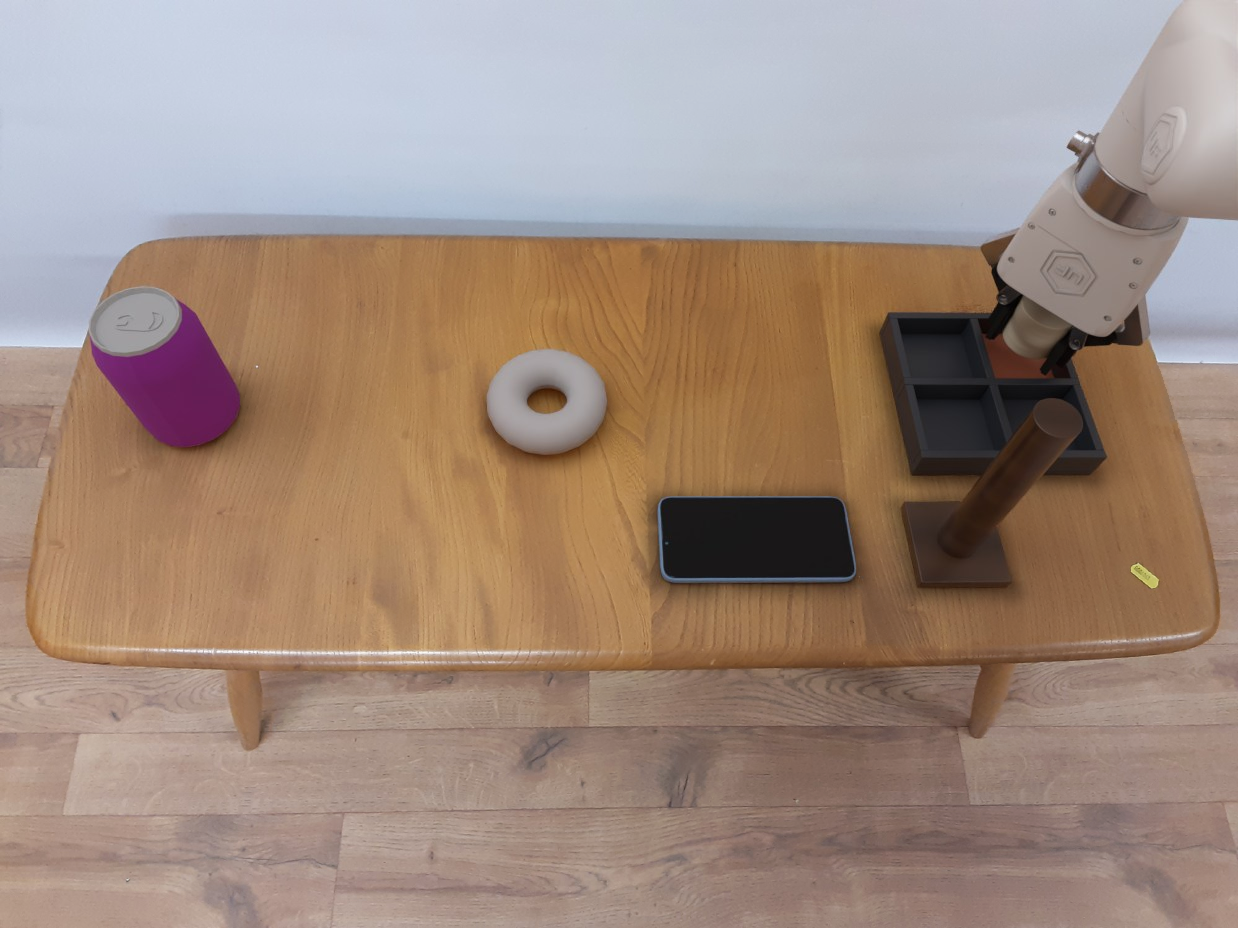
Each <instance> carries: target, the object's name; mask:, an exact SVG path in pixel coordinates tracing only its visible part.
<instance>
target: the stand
mask: <svg viewBox="0 0 1238 928" xmlns="http://www.w3.org/2000/svg"><path fill="white" fill-rule="evenodd" d="M1082 427H1083V421H1082V418H1081V415H1080V414H1079V412H1078V411H1077V410H1076V409H1075V408H1074V407H1073V406H1072V405H1071V404H1069V403H1067V402H1065V401H1063V400H1060V399H1055V398H1048V399H1044V400H1041V401H1039V402H1038V403H1037V404H1036V405H1035V406H1034V408H1033V409H1032V410H1031V412H1030V413H1029V414H1028V415H1027V417H1026V418H1025V419H1024V421H1023V422H1022V423H1021V425H1020V426H1019V427H1018V429H1017V430H1016V431H1015V432H1014V434H1013V435H1012V436H1011V438H1010V439H1009V440H1008V442H1007V443H1006V444H1005V445H1004V447H1003V448H1002V449H1001V451H1000V452H999V453H998V455H997V456H996V457H995V458H994V460H993V461H992V462H991V464H990V465H989V466H988V468H987V469H986V470H985V472H984V473H983V474H982V475H980V477H979V478H978V479H977V480H976V482H975V483H974V484H973V486H972V487H971V488H970V490H969V491H968V492H967V494H966V495H965V496H964V497H963V499H961V501H903V503H902V504H901V506H900V511H901V515H902V521H903V525H904V529H905V534H906V539H907V544H908V548H909V553H910V558H911V563H912V567H913V572H914V576H915V581H916V585H917V586H916V587H917V588H918V589H919V588H921V589H922V588H926V589H927V588H931V589H932V588H1007V587H1009V586H1010V585H1011V584H1012V583H1013V580H1012V577H1011V573H1010V569H1009V565H1008V562H1007V558H1006V555H1005V551H1004V548H1003V543H1002V540H1001V536H1000V533H999V529H998V526H999V525H1000V524H1001V523H1002V521H1004V520H1005V518H1006V517H1007V516H1008V515H1009V514H1010V513H1011V511H1012V510H1013V509H1015V507H1016V506H1017V505H1018V503H1020V502H1021V500H1022V499H1023V498H1024V497H1025V495H1027V494H1028V493H1029V491H1030V490H1031V489H1032V487H1034V486H1035V484H1036V483H1037V482H1038V481H1039V480H1040V479H1041V477H1042V476H1044V475H1043V474H1044V473H1045V472H1046V471H1047V469H1048V468H1049V467H1050V466H1051V465H1052V464H1053V463H1054V462H1055V460H1056V459H1057V458H1058V457H1059V456H1060V455H1061V454H1062V453H1063V451H1064V450H1065V449H1066V448H1067V447H1068V446H1069V445H1070V443H1071V442H1072V441H1073V440H1074V439H1075V438H1076V437H1077V436H1078V434H1079V433H1080V432H1081V430H1082Z"/></svg>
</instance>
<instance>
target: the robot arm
mask: <svg viewBox="0 0 1238 928" xmlns="http://www.w3.org/2000/svg"><path fill="white" fill-rule="evenodd" d="M1066 149H1067V150H1069V151H1071V152H1073V153H1074V156H1076V157H1077V161H1075V162H1074V163H1073V164H1071V165H1070V166H1069V167H1067V168H1065V170H1064V171H1062V172H1061V174H1059V175H1058V176H1057V177H1056V178H1055V180H1054V181H1052V183H1051V184H1050V185H1049V187H1048V188H1047V189H1046V190H1045V191H1044V193H1043V194H1042V196H1041V197H1040V198H1039V199H1038V201H1037V202H1036V203H1035V205H1034V207H1032V209H1031V211H1030V212H1029V214H1027V216H1026V218H1025V219H1024V221H1023V223H1022V224H1021V225H1020V226H1018V227H1016V228H1013V229H1011V230H1006V231H1005V232H1000V233H998V234H995V235H992V236H989V238H987V240H986V241H984V242H983V243H982V244H981V246H980V252H981V253H982V255H983V257H984V259H985V261H986V263H987V265H988V266H989V267H990V268H991V271H990V273H991V276H992V279H993V281H994V285H995V287H996V289H997V292H998V293H997V294H996V296H995V299H996V301H997V303H996V305H995V306H994V308H993V310H992V311H991V312H990V313H991V315H990V317H989V318H988V320H987V321H989V322H990V323H992V324H993V325H992V326H991V328H990V330H989V331H988V333H987V334H986V336H985V337H986V338H988V339H989V340H991V339H992V340H994V339H995V338H996V337H997V336H998V335H999V334H1000V333H1001V332H1002V331H1003V328H1004V325H1005V324H1006V322H1007V321H1008V319H1009V318H1010V316H1011V314H1012V313H1013V311H1014V310H1015V308H1016V306H1017V305H1018V303H1019V302H1020V300H1021V298H1022V297H1023V295H1024V296H1026V297H1028V298H1029V299H1031V300H1032V301H1034V302H1036V303H1037V304H1039V305H1040V306H1042V307H1044V308H1045V309H1047V310H1049V311H1050V312H1052V313H1053V314H1055V315H1057V316H1058V317H1060V318H1062V319H1063V320H1065V321H1066V322H1068V323H1070V324H1071V325H1073V327H1072V329H1071V330H1070V331H1069V333H1068V334H1067V335H1066V336H1065V337H1064V338H1063V339H1062V340H1061V341H1060V342H1059V343H1058V345H1057V346H1056V347H1055V349H1054V350H1053V352H1052V353H1051V354H1050V356H1049V357H1048V358H1047V360H1046V361H1045V362H1044V364H1043V365H1042V367H1041V368H1040V369H1039V370H1040V371H1041V372H1040V373H1042V374H1043V375H1045V376H1046V375H1047V374H1048V372H1049V371H1050V370H1051V369H1052V368H1053V367H1054V366H1055V365H1057V366H1059V367H1060V368H1062V369H1063V368H1064V367H1065V365H1066V364H1067V363H1068V362H1069V361H1070V359H1073V357H1074V356H1075V355H1076V353H1077V352H1078V351H1081V350H1083V348H1084V347H1086V348H1087V347H1106V346H1107V347H1108V346H1111V345H1114V344H1115V345H1118V346H1130V347H1132V346H1133V347H1141V346H1142V345H1143V344H1144V343H1145V341H1146V340H1147V339H1148V338H1149V337H1150V336H1151V328H1150V319H1149V312H1148V305H1147V304H1148V303H1147V297H1146V295H1147V293H1148V291H1149V290H1150V289H1151V288H1152V286H1153V284H1154V283H1155V282H1156V281H1157V279H1158V278H1159V276H1160V275H1161V273H1162V271H1163V270H1164V268H1165V267H1166V265H1167V264H1168V262H1169V260H1170V259H1171V257H1172V255H1173V253H1174V252H1175V250H1176V248H1177V247H1178V244H1179V243H1180V241H1181V239H1182V236H1183V235H1184V233H1185V231H1186V227H1187V225H1188V223H1189V218H1190V219H1191V218H1192V219H1206V220H1207V219H1208V220H1221V221H1222V220H1223V221H1224V220H1226V221H1238V0H1183V1H1181V3H1180V4H1179V5H1178V6H1177V7H1176V8H1175V9H1174V10H1173V11H1172V13H1171V14H1170V16H1169V17H1168V19H1167V20H1166V22H1165V23H1164V25H1163V27H1162V29H1161V30H1160V32H1159V33H1158V35H1157V37H1156V39H1155V41H1154V42H1153V43H1152V45H1151V47H1150V49H1149V51H1148V52H1147V54H1146V55H1145V57H1144V59H1143V61H1142V62H1141V64H1140V65H1139V67H1138V69H1137V71H1136V72H1135V74H1134V75H1133V77H1132V79H1131V80H1130V82H1129V83H1128V85H1127V87H1126V89H1125V91H1124V92H1123V94H1122V95H1121V97H1120V99H1119V101H1118V102H1117V104H1116V105H1115V107H1114V109H1113V110H1112V111H1111V114H1110V115H1109V117H1108V118H1107V120H1106V122H1105V124H1104V125H1103V127H1102V129H1101V130H1100V132H1096V133H1095V134H1094V135H1093V134H1091V133H1088V134H1087V133H1085V132H1084V131H1081V130H1077V131H1076V132H1075V133H1074V135H1073V136H1072V137H1071V138H1070V140H1069V141H1068V143H1067V146H1066Z"/></svg>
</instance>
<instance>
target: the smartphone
mask: <svg viewBox="0 0 1238 928" xmlns="http://www.w3.org/2000/svg"><path fill="white" fill-rule="evenodd" d="M657 529H658V549H659V551H658V552H659V568H660V573H661V576H662V578H663V579H664V580H665V581H667V582H669V583H672V584H673V583H674V584H708V583H709V584H735V583H737V584H739V583H742V584H743V583H745V584H746V583H747V584H749V583H751V584H752V583H755V584H756V583H766V584H767V583H847V582H850V581H851V580H853V578H854V577H855V576H856V573H857V563H856V557H855V552H854V546H853V541H852V535H851V529H850V523H849V518H848V512H847V508H846V504H845V503H844V502H843V500H842V499H841V498H839V497H837V496H831V495H815V496H814V495H797V496H796V495H791V496H790V495H786V496H785V495H772V496H771V495H759V496H758V495H755V496H754V495H672V496H671V495H670V496H665V497H663V498H661V499H660V500H659V502H658V504H657Z"/></svg>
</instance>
